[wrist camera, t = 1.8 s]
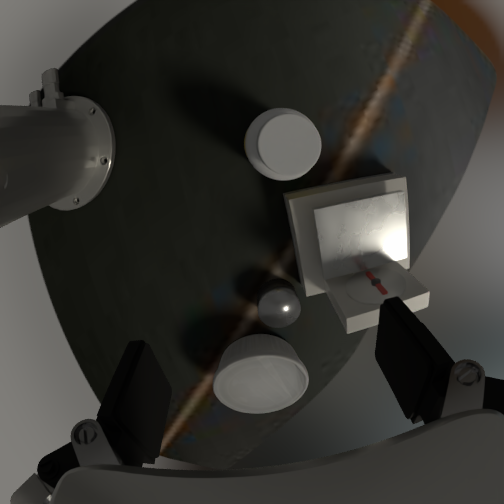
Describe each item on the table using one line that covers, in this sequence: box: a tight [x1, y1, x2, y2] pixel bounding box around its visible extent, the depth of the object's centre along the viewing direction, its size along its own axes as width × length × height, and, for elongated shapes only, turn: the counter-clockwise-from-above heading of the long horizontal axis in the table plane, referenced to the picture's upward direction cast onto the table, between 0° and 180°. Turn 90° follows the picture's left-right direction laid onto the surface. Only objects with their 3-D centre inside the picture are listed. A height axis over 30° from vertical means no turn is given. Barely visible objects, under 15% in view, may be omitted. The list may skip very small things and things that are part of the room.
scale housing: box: [283, 172, 430, 334], centre depth 24 cm, size 10×12×10 cm
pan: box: [312, 190, 407, 280], centre depth 24 cm, size 7×9×2 cm
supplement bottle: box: [244, 108, 321, 180], centre depth 20 cm, size 5×5×10 cm
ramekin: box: [213, 334, 309, 413], centre depth 32 cm, size 11×11×5 cm
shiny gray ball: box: [257, 279, 301, 328], centre depth 30 cm, size 4×4×3 cm
